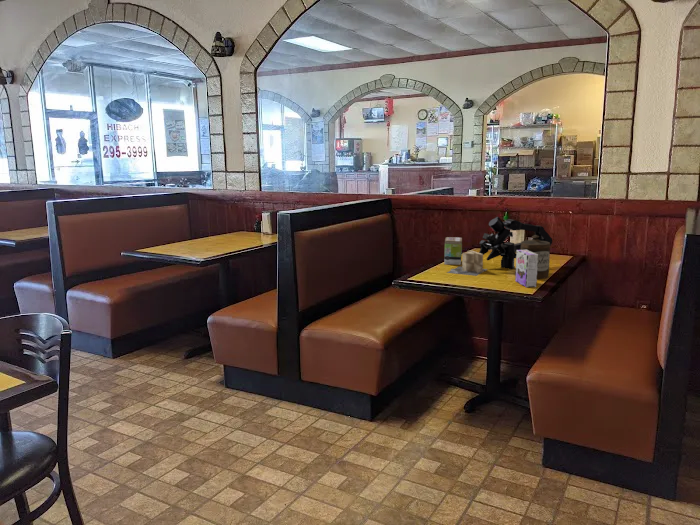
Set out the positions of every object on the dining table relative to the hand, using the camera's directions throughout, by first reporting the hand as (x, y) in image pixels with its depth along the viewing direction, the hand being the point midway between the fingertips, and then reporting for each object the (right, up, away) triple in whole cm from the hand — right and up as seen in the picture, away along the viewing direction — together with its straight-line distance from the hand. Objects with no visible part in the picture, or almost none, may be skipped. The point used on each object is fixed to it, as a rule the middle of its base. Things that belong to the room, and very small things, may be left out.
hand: (482, 258), depth 309 cm
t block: (-6, -7, -1) cm, 9 cm away
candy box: (+14, -13, -32) cm, 37 cm away
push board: (-9, -8, -2) cm, 12 cm away
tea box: (-12, -3, +24) cm, 27 cm away
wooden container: (+24, -10, -15) cm, 30 cm away
